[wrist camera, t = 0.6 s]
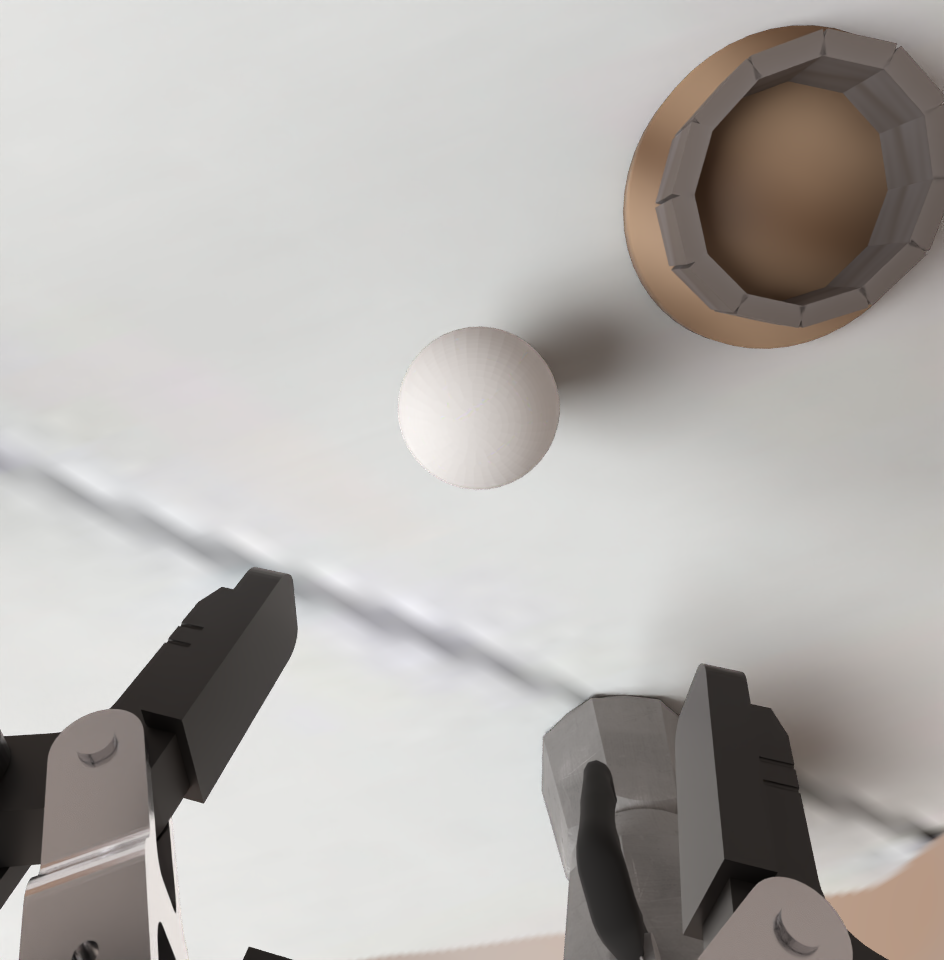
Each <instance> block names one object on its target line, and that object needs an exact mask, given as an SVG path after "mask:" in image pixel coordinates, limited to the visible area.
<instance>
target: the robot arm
mask: <svg viewBox="0 0 944 960" xmlns="http://www.w3.org/2000/svg"><path fill="white" fill-rule="evenodd" d="M297 630H298V628H297V617H296V607H295V596H294V586H293V579H292V577H291V575H289V574H285V573H281V572H276V571H271V570H267V569H262V568H257V567H253V568H251V569H250V570H248V572H247V573H246V574H245V575H244V577H243V578H242V579H241V580H240V582H239V583H238V584H237V586H236V587H235V588H234V589H229V588H225V587H221V588H219V589H218V590H216V591H215V592H213V593H212V594H210V595H209V596H207V597H206V598H204V599H202V600H201V601H199V602H198V603H197V604H196V605H195V607H194V608H193V609H192V610H191V612H190V613H189V614H188V615H187V616H186V618H185V619H184V620H183V621H182V624H181V626H178V627H177V629H176V630H175V631H174V632H173V633H172V635H171V636H170V637H169V638H168V642H167V643H164V644H163V646H162V647H161V648H160V649H159V651H158V652H157V653H156V654H155V655H154V657H153V658H152V659H151V660H150V661H149V663H148V664H147V665H146V666H145V668H144V669H143V670H142V671H141V672H140V674H139V675H138V676H137V677H136V679H135V680H134V681H133V682H132V683H131V685H130V686H129V687H128V688H127V689H126V691H125V692H124V693H123V694H122V696H121V697H120V698H119V699H118V700H117V702H116V703H115V704H114V705H113V706H112V707H111V708H110V709H106V710H101V711H96V712H93V713H90V714H88V715H86V716H83V717H81V718H80V719H78V720H76V721H75V722H73V723H72V724H70V725H69V726H68V727H66V728H65V729H64V730H63V731H62V732H59V733H50V734H34V735H18V736H3V734H2V732H1V730H0V909H1V908H2V906H3V905H4V903H5V902H6V900H7V899H8V898H9V896H10V895H11V893H12V892H13V890H14V889H15V888H16V886H17V885H18V883H19V882H20V880H21V879H22V877H23V876H24V875H25V873H26V872H27V870H28V869H29V867H30V866H31V865H36V864H41V866H40V871H39V874H38V876H35V877H32V878H31V879H30V880H29V882H28V884H27V887H26V891H25V896H24V904H23V916H22V929H21V941H20V953H19V960H189V958H188V952H187V947H186V942H185V937H184V932H183V925H182V918H181V907H180V896H179V886H178V875H177V864H176V853H175V843H174V832H173V822H172V815H173V814H174V812H175V810H176V809H177V807H178V806H179V804H180V802H181V801H182V799H183V798H186V799H189V800H193V801H197V802H200V803H204V802H205V801H206V799H207V797H208V796H209V794H210V792H211V790H212V789H213V787H214V785H215V784H216V782H217V780H218V779H219V777H220V775H221V774H222V772H223V770H224V768H225V767H226V765H227V763H228V762H229V760H230V758H231V757H232V755H233V753H234V752H235V750H236V748H237V747H238V745H239V743H240V741H241V740H242V738H243V736H244V735H245V733H246V731H247V730H248V728H249V726H250V725H251V723H252V721H253V719H254V718H255V716H256V714H257V713H258V711H259V709H260V708H261V706H262V704H263V703H264V701H265V699H266V698H267V696H268V694H269V692H270V691H271V689H272V687H273V686H274V684H275V682H276V681H277V679H278V677H279V676H280V674H281V672H282V671H283V669H284V667H285V665H286V664H287V662H288V660H289V659H290V657H291V654H292V652H293V650H294V646H295V643H296V638H297ZM675 763H676V786H677V809H678V833H679V856H680V879H681V903H682V926H683V935H684V936H688V937H692V938H696V939H699V940H703V946H704V951H703V953H702V954H701V955H700V956H699V958H698V959H697V960H888V959H886V958H884V957H883V956H881V955H879V954H877V953H876V952H874V951H873V950H871V949H870V948H868V947H867V946H865V945H864V944H863V943H861V942H860V941H859V940H858V939H856V938H855V937H854V936H853V935H852V934H851V933H850V932H849V931H848V930H847V929H846V927H845V925H844V923H843V921H842V919H841V918H840V916H839V915H838V913H837V912H836V911H835V909H833V907H832V906H831V905H830V904H829V902H828V901H827V900H826V899H825V897H824V895H823V892H822V890H821V887H820V883H819V880H818V875H817V870H816V866H815V861H814V856H813V851H812V847H811V842H810V837H809V832H808V828H807V823H806V818H805V813H804V809H803V804H802V799H801V794H800V793H799V792H798V790H799V785H798V780H797V775H796V771H795V770H794V761H793V756H792V752H791V747H790V742H789V737H788V735H787V733H786V732H785V730H784V728H783V727H782V725H781V724H780V722H779V721H778V719H777V717H776V716H775V714H774V713H773V711H772V710H771V708H766V707H761V706H757V705H752V704H750V698H749V691H748V685H747V680H746V676H745V674H744V673H743V672H739V671H735V670H730V669H725V668H721V667H716V666H711V665H707V664H700V665H699V667H698V669H697V671H696V674H695V676H694V679H693V681H692V684H691V687H690V689H689V692H688V694H687V697H686V700H685V702H684V705H683V707H682V710H681V713H680V715H679V719H678V723H677V729H676V737H675ZM243 960H292V959H289V958H285V957H282V956H279V955H275V954H272V953H268V952H265V951H262V950H258V949H255V948H252V947H249V948H248V950H247V952H246V954H245V956H244V959H243Z"/></svg>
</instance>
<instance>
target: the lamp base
mask: <svg viewBox="0 0 944 960" xmlns="http://www.w3.org/2000/svg"><path fill="white" fill-rule="evenodd" d="M896 45H897V43H892V42H888V41H883V40H879V39H874V38H870V37H865V36H860V35H856V34H852V33H848V32H845V31H842V30H838V29H835V28H828V27H821V26H814V25H807V26H787V27H780V28H774V29H769V30H766V31H763V32H759V33H756V34H753V35H749V36H747V37H745V38H743V39H740V40H738V41H736V42H734V43H732V44H729V45H728V46H726V47H724V48H723V49H721V50H720V51H718V52H716V53H715V54H713V55H711V56H710V57H709V58H707V59H706V60H705V61H704V62H702V63H701V64H700V65H699V66H697V67H696V68H695V69H694V70H692V71H691V72H690V73H689V74H688V75H687V76H686V77H685V78H684V79H683V80H682V81H681V82H680V84H679V85H678V86H677V87H676V88H675V89H674V90H673V91H672V93H671V94H670V95H669V96H668V97H667V99H666V100H665V101H664V103H663V104H662V105H661V106H660V108H659V109H658V110H657V112H656V113H655V114H654V116H653V117H652V119H651V121H650V122H649V124H648V126H647V127H646V129H645V131H644V132H643V135H642V137H641V139H640V141H639V143H638V146H637V148H636V150H635V152H634V156H633V159H632V162H631V165H630V168H629V171H628V176H627V181H626V187H625V193H624V207H623V216H624V232H625V237H626V242H627V248H628V251H629V254H630V258H631V261H632V264H633V267H634V269H635V271H636V273H637V275H638V277H639V279H640V281H641V283H642V285H643V286H644V288H645V289H646V291H647V292H648V294H649V295H650V297H651V298H652V299H653V300H654V301H655V303H656V304H657V305H658V306H659V307H660V308H661V309H662V310H663V311H664V312H665V313H666V314H667V315H668V316H670V317H671V318H672V319H673V320H674V321H675V322H677V323H679V324H680V325H682V326H683V327H685V328H687V329H688V330H690V331H692V332H694V333H696V334H699V335H701V336H703V337H705V338H708V339H712V340H715V341H719V342H722V343H726V344H729V345H733V346H739V347H746V348H764V349H771V348H779V347H788V346H793V345H797V344H801V343H805V342H809V341H811V340H814V339H817V338H820V337H822V336H825V335H827V334H829V333H831V332H833V331H835V330H837V329H839V328H841V327H843V326H845V325H846V324H848V323H849V322H851V321H852V320H854V319H855V318H857V317H858V316H860V315H861V314H863V313H864V312H865V311H866V310H867V309H869V308H870V307H871V306H872V305H873V304H875V303H876V302H877V301H878V300H879V299H880V298H881V297H882V296H883V295H884V294H885V293H886V292H887V291H888V290H889V289H890V288H891V287H892V286H894V285H895V284H896V283H897V282H898V281H899V280H900V279H901V278H902V277H903V276H904V275H905V274H906V273H907V272H908V271H909V270H911V269H912V268H913V267H914V266H915V265H916V264H917V263H918V262H919V261H920V260H921V259H922V258H923V257H924V256H925V255H926V253H925V252H924V251H925V250H930V247H931V245H932V242H933V240H934V237H935V235H936V232H937V230H938V227H939V224H940V222H941V219H942V217H943V214H944V104H943V105H941V106H939V105H940V104H941V103H942V102H943V101H944V94H943V93H942V92H941V91H940V90H939V89H938V88H937V86H936V85H935V84H934V83H933V82H932V81H931V80H930V78H929V77H928V76H927V75H926V74H925V73H924V71H923V70H922V69H921V68H920V67H919V66H918V65H917V63H916V62H915V61H914V60H913V59H912V58H911V57H910V55H909V54H908V53H907V52H906V51H905V50H904V49H903V47H902V46H900V47H899V48H897V49H895V48H896Z"/></svg>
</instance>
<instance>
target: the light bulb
mask: <svg viewBox="0 0 944 960" xmlns="http://www.w3.org/2000/svg"><path fill="white" fill-rule="evenodd" d="M559 414H560V405H559V395H558V390H557V385H556V383H555V380H554V377H553V374H552V372H551V371H550V369H549V367H548V365H547V363H546V362H545V361H544V359H543V358H542V357H541V356H540V354H539V353H538V352H537V351H536V350H535V349H534V348H533V347H532V346H530V345H529V344H528V343H527V342H525V341H524V340H522V339H521V338H519V337H517V336H515V335H513V334H511V333H509V332H507V331H503V330H499V329H496V328H489V327H467V328H463V329H458V330H454V331H452V332H449V333H447V334H444V335H442V336H440V337H439V338H437V339H435V340H434V341H432V342H431V343H430V344H429V345H427V346H426V347H425V348H424V349H423V350H422V351H421V352H420V353H419V354H418V355H417V356H416V358H415V359H414V360H413V361H412V363H411V365H410V366H409V368H408V370H407V371H406V374H405V376H404V379H403V381H402V384H401V388H400V392H399V397H398V418H399V425H400V429H401V433H402V436H403V438H404V440H405V443H406V445H407V447H408V449H409V450H410V452H411V453H412V455H413V457H414V458H415V459H416V460H417V461H418V462H419V464H420V465H421V466H422V467H423V468H424V469H426V470H427V471H428V472H429V473H430V474H432V475H433V476H435V477H436V478H438V479H440V480H441V481H444V482H446V483H448V484H450V485H453V486H457V487H461V488H466V489H474V490H479V489H491V488H497V487H501V486H503V485H506V484H509V483H512V482H514V481H516V480H517V479H519V478H521V477H523V476H524V475H525V474H527V473H528V472H529V471H531V470H532V469H533V468H534V467H535V466H536V465H537V464H538V463H539V462H540V461H541V460H542V458H543V457H544V455H545V454H546V452H547V451H548V450H549V448H550V445H551V443H552V441H553V439H554V437H555V433H556V430H557V427H558V421H559Z"/></svg>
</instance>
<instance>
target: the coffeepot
mask: <svg viewBox="0 0 944 960" xmlns="http://www.w3.org/2000/svg"><path fill="white" fill-rule="evenodd" d="M678 719H679V715H677V714H676V713H675V712H674V711H672V710H671V709H670V708H668V707H667V706H666V705H665V704H664V703H663V702H662V701H661V700H659V699H651V698H644V697H636V696H627V695H621V696H607V697H603V698H590V699H589V700H587V701H586V702H584V703H583V704H581V705H580V706H578V707H576V708H575V709H573V710H572V711H570V712H569V713H567V714H566V715H565V716H564V717H563V718H562V719H561V720H560V721H559V722H558V723H557V724H556V725H555V727H554V728H553V729H552V730H551V731H549V732H548V733H547V734H546V735H544V736H543V754H542V794H543V797H544V801H545V804H546V808H547V811H548V815H549V818H550V822H551V825H552V829H553V833H554V836H555V840H556V843H557V847H558V850H559V854H560V857H561V861H562V865H563V868H564V872H565V875H566V878H567V879H568V880H569V890H568V904H567V918H566V933H565V947H564V948H565V949H564V960H697V959H698V958H699V956H700V955H701V954H702V953H703V951H704V946H703V940H699V939H696V938H692V937H688V936H684V935H683V926H682V903H681V879H680V856H679V833H678V809H677V786H676V763H675V737H676V729H677V723H678Z"/></svg>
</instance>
